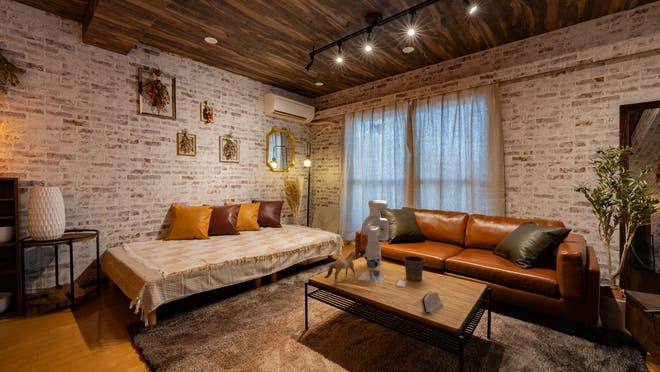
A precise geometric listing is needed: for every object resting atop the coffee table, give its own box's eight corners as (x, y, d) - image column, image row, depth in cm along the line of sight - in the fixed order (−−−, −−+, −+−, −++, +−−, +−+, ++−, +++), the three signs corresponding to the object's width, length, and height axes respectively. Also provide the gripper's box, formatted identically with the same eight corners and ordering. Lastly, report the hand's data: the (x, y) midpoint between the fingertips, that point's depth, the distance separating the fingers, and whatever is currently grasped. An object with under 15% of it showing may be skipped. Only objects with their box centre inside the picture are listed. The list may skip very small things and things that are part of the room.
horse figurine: (354, 275, 224) (354, 250, 223) (360, 278, 217) (360, 253, 217) (323, 284, 205) (323, 257, 205) (329, 287, 199) (329, 260, 198)
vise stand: (364, 273, 228) (364, 266, 228) (385, 276, 221) (385, 269, 220) (357, 281, 212) (357, 273, 212) (380, 285, 204) (380, 277, 204)
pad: (392, 280, 214) (392, 279, 214) (407, 282, 209) (407, 281, 209) (389, 285, 204) (389, 284, 204) (404, 287, 199) (404, 286, 199)
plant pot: (404, 281, 211) (404, 261, 210) (402, 274, 227) (402, 255, 226) (426, 283, 208) (426, 262, 207) (422, 275, 224) (422, 256, 223)
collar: (369, 265, 220) (369, 259, 220) (376, 266, 218) (376, 260, 218) (367, 267, 215) (367, 261, 215) (374, 268, 212) (374, 262, 212)
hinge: (430, 314, 160) (425, 297, 163) (423, 314, 164) (418, 297, 166) (443, 305, 171) (438, 289, 174) (437, 305, 175) (432, 289, 177)
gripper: (384, 243, 215) (384, 266, 216) (363, 241, 222) (363, 263, 223) (381, 246, 208) (381, 269, 209) (360, 243, 216) (360, 266, 217)
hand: (372, 265), depth 216 cm, fingers closed on collar, 6 cm apart
